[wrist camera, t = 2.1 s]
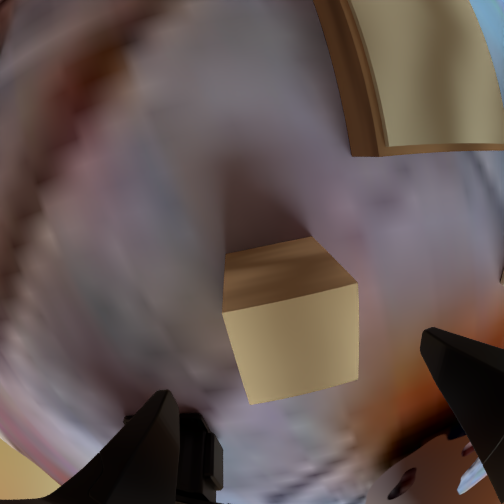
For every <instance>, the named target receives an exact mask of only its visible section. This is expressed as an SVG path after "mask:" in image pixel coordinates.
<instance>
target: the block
mask: <svg viewBox="0 0 504 504" xmlns="http://www.w3.org/2000/svg"><path fill="white" fill-rule="evenodd" d="M222 314H223V318H224V322H225V325H226V328H227V332H228V335H229V339H230V342H231V346H232V349H233V352H234V356H235V359H236V362H237V365H238V369H239V372H240V375H241V378H242V382H243V385H244V388H245V391H246V394H247V397H248V400H249V403H250V405H253V404H258V403H264V402H269V401H274V400H279V399H284V398H289V397H293V396H298V395H302V394H306V393H311V392H315V391H318V390H322V389H326V388H330V387H333V386H337V385H340V384H344V383H347V382H351V381H354V380H357V379H358V363H359V300H358V283H357V281H356V280H355V279H354V278H353V277H352V276H351V275H350V274H349V273H348V272H347V271H346V270H345V269H344V268H343V267H342V266H341V265H340V264H339V263H338V262H337V261H336V260H335V259H334V258H333V257H332V256H331V255H330V254H329V253H328V252H327V251H326V250H325V249H324V248H323V247H322V246H321V245H320V244H319V243H318V242H317V241H316V240H315V239H314V238H313V237H312V236H311V237H306V238H301V239H296V240H291V241H286V242H282V243H277V244H272V245H267V246H262V247H257V248H252V249H248V250H243V251H238V252H233V253H228V254H226V256H225V272H224V288H223V305H222Z"/></svg>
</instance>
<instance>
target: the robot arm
mask: <svg viewBox="0 0 504 504" xmlns="http://www.w3.org/2000/svg"><path fill="white" fill-rule="evenodd" d="M420 352H421V355H422V357H423V359H424V361H425V363H426V365H427V367H428V369H429V371H430V373H431V375H432V377H433V379H434V381H435V383H436V385H437V386H438V388H439V390H440V391H441V393H442V394H443V396H444V398H445V399H446V401H447V402H448V404H449V406H450V407H451V409H452V411H453V412H454V414H455V416H456V417H457V419H458V421H459V422H460V424H461V426H462V428H463V429H464V431H465V433H466V435H467V437H468V438H469V440H470V442H471V444H472V446H473V447H474V449H475V451H476V453H477V455H478V457H479V459H480V461H481V463H482V464H483V467H484V469H485V471H486V473H487V475H488V477H489V479H490V481H491V483H492V485H493V487H494V489H495V491H496V494H497V496H498V498H499V500H500V502H501V504H502V503H504V349H501V348H498V347H495V346H491V345H488V344H485V343H482V342H479V341H476V340H472V339H469V338H466V337H463V336H460V335H457V334H454V333H451V332H447V331H444V330H441V329H438V328H435V327H431V328H428V329H425V330H424V331H423V333H422V338H421V345H420ZM123 422H124V424H125V426H124V427H123V428H122V429H121V430H120V431H119V432H118V433H117V434H116V435H115V436H114V437H113V438H112V439H111V440H110V441H109V442H108V444H107V445H106V446H105V447H104V448H103V449H102V450H101V451H100V453H98V454H97V455H96V456H95V457H94V458H93V459H92V460H91V461H90V462H89V463H88V464H87V465H86V466H85V467H84V468H82V469H81V470H80V471H79V472H78V473H77V474H75V475H74V476H73V477H72V478H71V479H69V480H68V481H67V482H66V483H64V484H63V485H62V486H61V487H59V488H58V489H57V490H56V491H54V492H53V493H51V494H50V495H48V496H46V497H43V498H37V499H20V500H0V504H222V503H216V491H218V490H222V488H223V448H222V447H221V445H220V443H219V441H218V439H217V437H216V435H215V434H214V433H212V432H210V430H209V428H208V426H207V424H206V422H205V420H204V418H203V417H202V415H200V414H197V413H191V414H179V407H178V405H177V403H176V401H175V399H174V397H173V395H172V393H171V392H170V390H158V391H157V392H156V393H155V394H154V395H153V396H152V397H151V398H150V399H149V400H148V401H147V402H146V403H145V404H144V406H143V407H142V408H141V409H140V410H139V411H138V412H137V413H136V414H135V415H134V416H126V417H125V418H124V421H123ZM228 504H229V503H228Z"/></svg>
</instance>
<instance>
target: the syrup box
mask: <svg viewBox="0 0 504 504" xmlns="http://www.w3.org/2000/svg"><path fill="white" fill-rule="evenodd" d="M500 283H501V284H502V285H503V286H504V271H503V275H502V278H501V281H500Z"/></svg>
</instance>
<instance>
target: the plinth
mask: <svg viewBox="0 0 504 504" xmlns="http://www.w3.org/2000/svg"><path fill="white" fill-rule="evenodd" d="M313 2H314V5H315V8H316V11H317V14H318V17H319V20H320V23H321V26H322V29H323V32H324V36H325V39H326V42H327V46H328V49H329V53H330V56H331V60H332V64H333V68H334V72H335V75H336V80H337V84H338V88H339V92H340V97H341V101H342V106H343V111H344V115H345V120H346V126H347V131H348V136H349V142H350V148H351V154H352V157H383V156H393V155H404V154H417V153H431V152H450V151H487V150H504V108H503V103H502V98H501V93H500V89H499V85H498V81H497V77H496V73H495V69H494V66H493V62H492V59H491V56H490V53H489V50H488V47H487V44H486V41H485V38H484V35H483V33H482V30H481V27H480V25H479V22H478V20H477V18H476V15H475V13H474V11H473V8H472V6H471V4H470V2H469V0H313Z"/></svg>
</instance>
